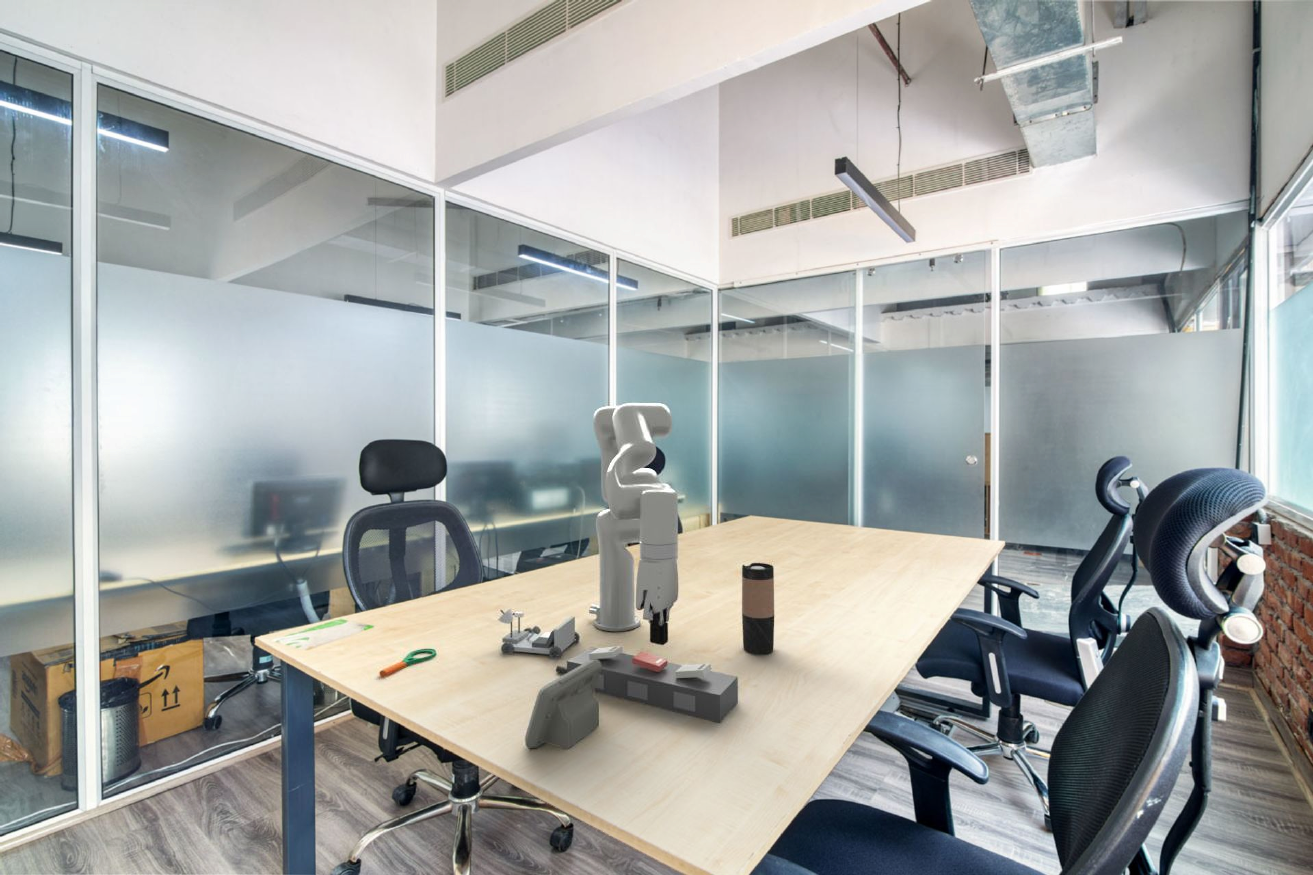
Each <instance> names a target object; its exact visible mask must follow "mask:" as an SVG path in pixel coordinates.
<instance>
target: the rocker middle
mask: <svg viewBox="0 0 1313 875" xmlns="http://www.w3.org/2000/svg"><path fill="white" fill-rule="evenodd" d="M667 662H668V659H665V658H663V657H660V656H657V655H654V654H650V653H647V652H644V651H641V652H639V653H637V654H636V655H634V657H633V659H632V664H635V665H638V666H641V667H644V668H647V669H650V670H653V671H656V672H659V671H661V670H662V669H663V668H665V667H666V666H667Z"/></svg>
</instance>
